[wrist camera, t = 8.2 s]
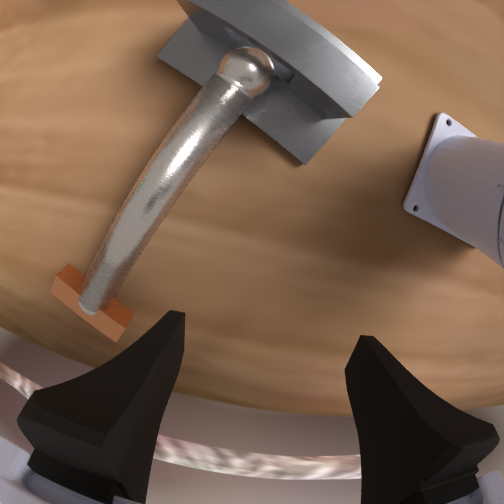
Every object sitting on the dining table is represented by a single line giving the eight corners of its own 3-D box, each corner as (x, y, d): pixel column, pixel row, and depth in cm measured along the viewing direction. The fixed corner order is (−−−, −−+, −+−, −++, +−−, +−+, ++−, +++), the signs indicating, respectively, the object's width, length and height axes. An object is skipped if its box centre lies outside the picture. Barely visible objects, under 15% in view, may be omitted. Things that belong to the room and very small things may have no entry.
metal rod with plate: (307, 91, 14) (315, 84, 12) (127, 323, 21) (113, 347, 18) (220, 30, 13) (212, 13, 10) (65, 277, 20) (46, 296, 17)
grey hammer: (377, 79, 16) (429, 63, 10) (158, 336, 25) (134, 395, 18) (236, -23, 13) (225, -78, 7) (52, 256, 22) (4, 296, 16)
